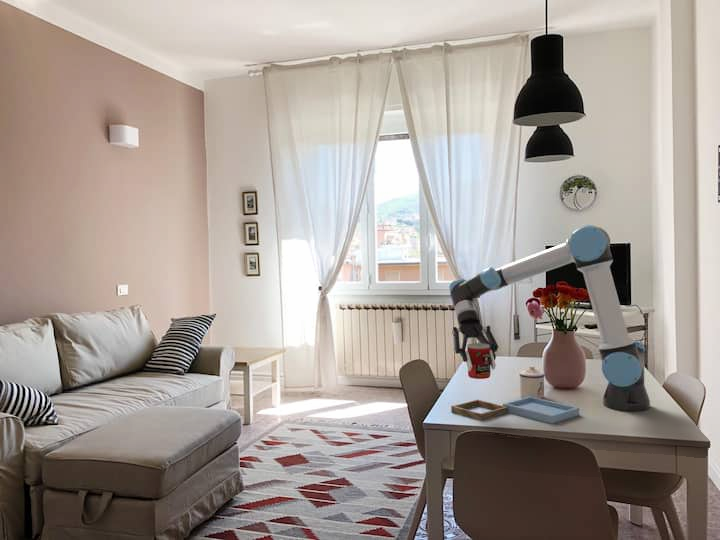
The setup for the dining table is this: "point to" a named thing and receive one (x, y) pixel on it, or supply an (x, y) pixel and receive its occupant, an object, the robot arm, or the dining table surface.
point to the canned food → (479, 360)
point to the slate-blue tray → (541, 409)
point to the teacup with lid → (532, 383)
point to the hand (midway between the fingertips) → (482, 368)
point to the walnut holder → (495, 411)
